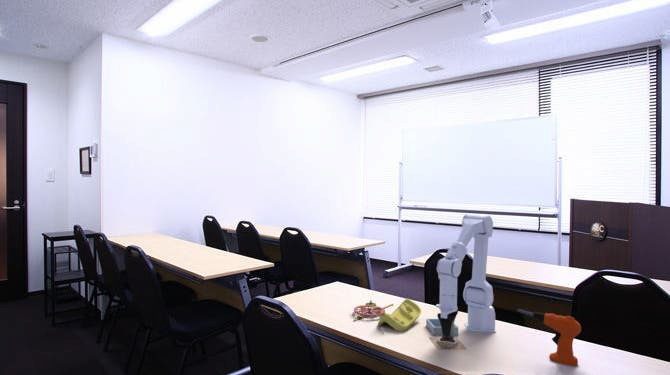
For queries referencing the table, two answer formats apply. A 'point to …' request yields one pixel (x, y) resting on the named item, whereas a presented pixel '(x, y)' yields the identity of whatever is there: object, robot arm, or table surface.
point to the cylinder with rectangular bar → (450, 334)
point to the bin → (437, 327)
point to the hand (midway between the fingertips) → (447, 333)
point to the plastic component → (402, 316)
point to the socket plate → (447, 343)
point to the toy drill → (560, 335)
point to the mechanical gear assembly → (370, 310)
